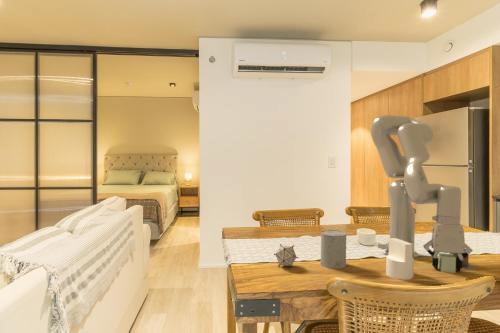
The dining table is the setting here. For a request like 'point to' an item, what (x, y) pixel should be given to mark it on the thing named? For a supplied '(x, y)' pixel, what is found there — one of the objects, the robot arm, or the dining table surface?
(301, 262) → the dining table surface
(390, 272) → the base with upright slab
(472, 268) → the build pad
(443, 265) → the green block
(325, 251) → the grey cylinder
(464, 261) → the walnut block
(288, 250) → the grey spiked polyhedron
